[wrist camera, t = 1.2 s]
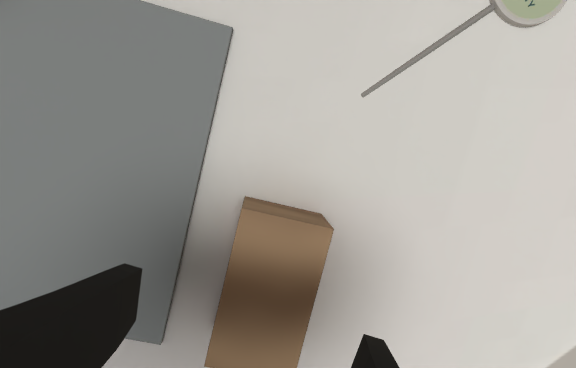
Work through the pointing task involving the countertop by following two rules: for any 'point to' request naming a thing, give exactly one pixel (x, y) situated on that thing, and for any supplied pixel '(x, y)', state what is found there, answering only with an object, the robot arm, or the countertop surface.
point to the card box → (269, 286)
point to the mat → (102, 143)
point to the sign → (508, 6)
